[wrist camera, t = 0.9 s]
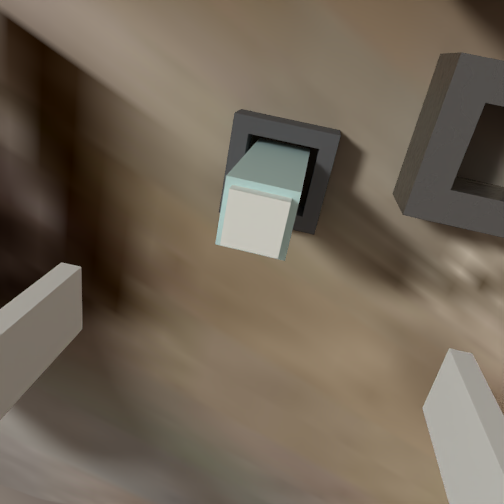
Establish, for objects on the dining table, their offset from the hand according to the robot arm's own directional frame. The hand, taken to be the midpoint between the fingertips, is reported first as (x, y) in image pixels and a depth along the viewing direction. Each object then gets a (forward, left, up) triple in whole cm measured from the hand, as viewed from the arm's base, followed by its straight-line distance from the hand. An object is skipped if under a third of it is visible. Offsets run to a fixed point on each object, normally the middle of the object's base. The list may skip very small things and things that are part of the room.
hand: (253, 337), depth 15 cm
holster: (-1, +1, -21) cm, 21 cm away
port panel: (+13, +6, -21) cm, 25 cm away
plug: (-1, +1, -21) cm, 21 cm away
